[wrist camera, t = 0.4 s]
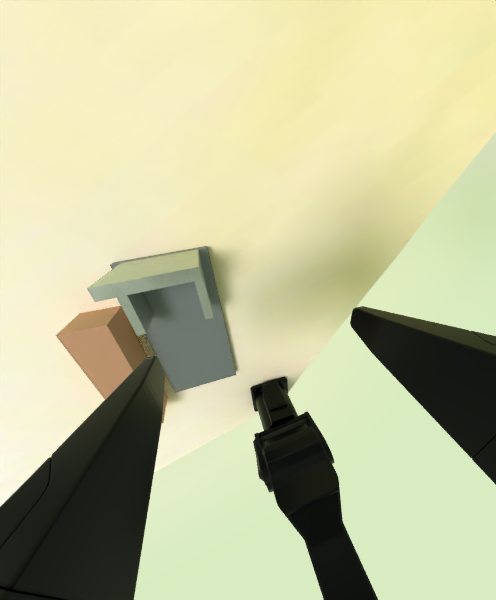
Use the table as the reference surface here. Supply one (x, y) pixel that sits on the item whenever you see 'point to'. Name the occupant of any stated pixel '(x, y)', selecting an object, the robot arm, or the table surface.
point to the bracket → (151, 284)
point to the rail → (104, 348)
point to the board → (188, 331)
